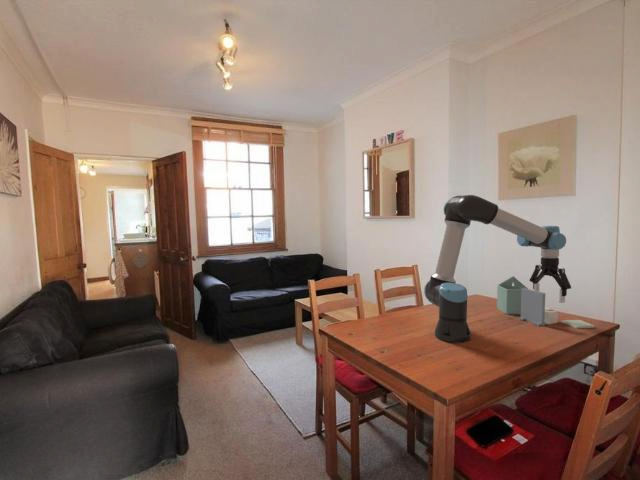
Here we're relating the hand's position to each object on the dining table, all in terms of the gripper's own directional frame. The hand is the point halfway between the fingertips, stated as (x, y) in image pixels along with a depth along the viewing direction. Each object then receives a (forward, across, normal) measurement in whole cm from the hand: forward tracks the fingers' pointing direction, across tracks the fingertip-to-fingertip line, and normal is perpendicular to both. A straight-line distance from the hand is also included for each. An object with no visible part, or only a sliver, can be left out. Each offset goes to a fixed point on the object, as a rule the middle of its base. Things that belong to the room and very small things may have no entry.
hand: (548, 299), depth 172 cm
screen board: (+11, +2, +8) cm, 14 cm away
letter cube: (+12, 0, 0) cm, 12 cm away
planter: (+12, +18, +5) cm, 22 cm away
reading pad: (+12, -9, -8) cm, 17 cm away
